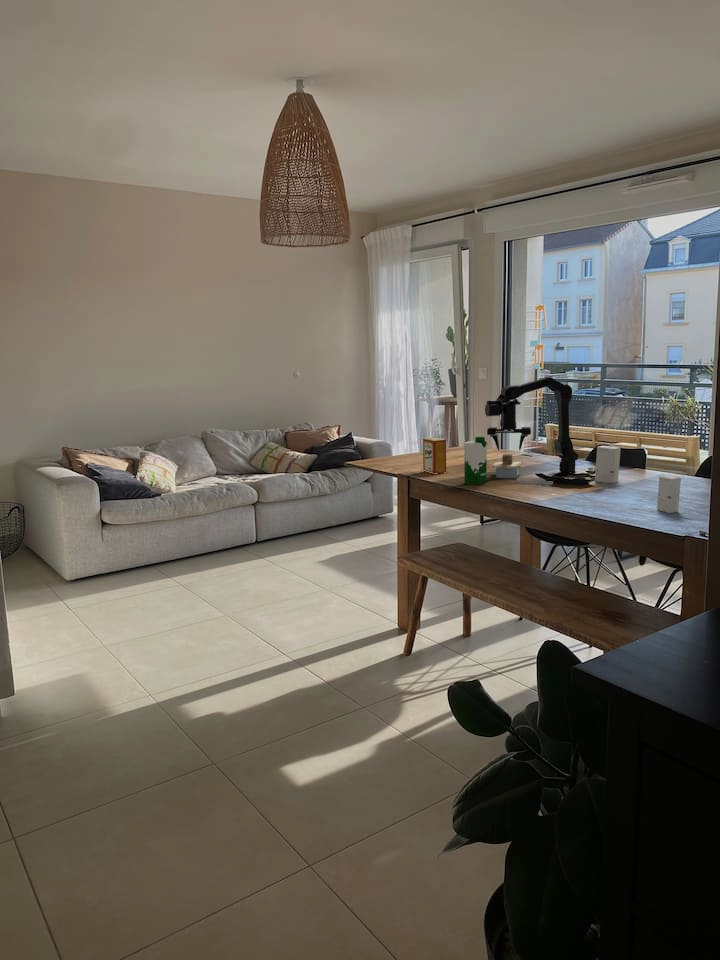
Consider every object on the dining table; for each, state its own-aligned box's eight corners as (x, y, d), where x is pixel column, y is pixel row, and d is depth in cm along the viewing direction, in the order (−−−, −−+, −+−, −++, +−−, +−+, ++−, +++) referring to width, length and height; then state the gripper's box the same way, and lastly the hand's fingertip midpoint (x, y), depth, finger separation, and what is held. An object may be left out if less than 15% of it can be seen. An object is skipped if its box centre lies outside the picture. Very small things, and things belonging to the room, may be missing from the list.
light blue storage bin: (518, 475, 338) (518, 464, 337) (516, 478, 329) (516, 467, 328) (497, 474, 340) (497, 463, 339) (496, 478, 332) (496, 467, 331)
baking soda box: (423, 471, 354) (422, 438, 351) (435, 470, 357) (434, 436, 354) (434, 474, 346) (433, 440, 343) (446, 473, 349) (445, 438, 346)
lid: (522, 463, 338) (522, 453, 337) (520, 468, 326) (520, 457, 326) (495, 463, 341) (495, 452, 340) (492, 467, 330) (492, 456, 329)
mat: (553, 479, 326) (553, 478, 326) (552, 485, 312) (552, 484, 312) (520, 478, 329) (520, 477, 329) (518, 484, 316) (518, 483, 316)
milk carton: (480, 486, 316) (480, 438, 312) (461, 484, 321) (460, 437, 317) (489, 482, 323) (489, 436, 319) (470, 480, 328) (470, 435, 324)
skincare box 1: (594, 481, 317) (595, 446, 315) (600, 479, 322) (601, 445, 319) (614, 483, 312) (615, 448, 309) (619, 481, 316) (620, 446, 314)
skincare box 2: (656, 510, 264) (657, 476, 262) (665, 508, 266) (667, 474, 263) (670, 513, 258) (671, 478, 256) (679, 511, 260) (681, 477, 258)
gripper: (531, 413, 335) (531, 447, 338) (489, 413, 340) (489, 447, 343) (530, 415, 325) (530, 451, 327) (486, 416, 330) (487, 451, 332)
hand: (509, 450), depth 333 cm, fingers open, 9 cm apart
